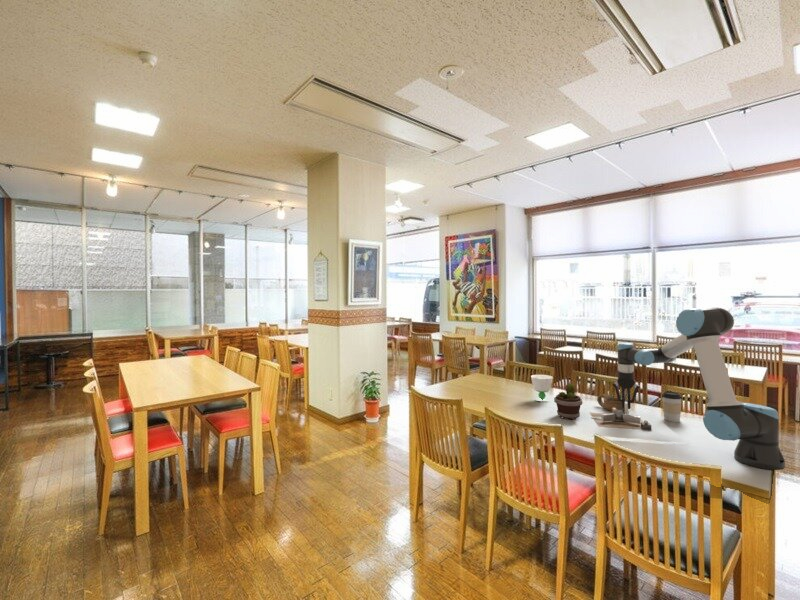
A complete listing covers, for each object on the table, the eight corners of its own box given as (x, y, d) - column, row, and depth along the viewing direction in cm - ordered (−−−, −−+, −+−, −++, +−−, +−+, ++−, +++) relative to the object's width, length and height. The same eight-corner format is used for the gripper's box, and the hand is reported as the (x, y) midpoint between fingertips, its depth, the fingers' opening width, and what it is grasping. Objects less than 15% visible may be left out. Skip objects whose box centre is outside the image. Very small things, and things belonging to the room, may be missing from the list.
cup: (526, 398, 254) (526, 375, 254) (543, 396, 258) (543, 373, 258) (540, 404, 241) (539, 379, 241) (557, 402, 245) (557, 377, 245)
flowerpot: (575, 423, 205) (575, 386, 205) (549, 416, 217) (548, 381, 216) (587, 417, 214) (587, 382, 214) (561, 411, 226) (561, 377, 226)
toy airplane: (652, 433, 188) (651, 421, 188) (596, 429, 195) (596, 418, 195) (637, 418, 211) (636, 407, 211) (587, 415, 218) (587, 405, 218)
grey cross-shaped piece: (641, 425, 194) (641, 414, 194) (601, 422, 200) (601, 412, 200) (632, 416, 210) (632, 406, 210) (595, 413, 215) (595, 404, 215)
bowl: (590, 408, 225) (592, 391, 227) (600, 410, 234) (601, 394, 236) (623, 414, 212) (624, 396, 214) (632, 416, 220) (633, 399, 222)
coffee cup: (685, 422, 201) (685, 394, 201) (666, 422, 203) (666, 394, 203) (677, 417, 210) (676, 390, 210) (658, 416, 212) (658, 390, 212)
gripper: (640, 371, 206) (641, 414, 206) (613, 369, 214) (614, 410, 214) (639, 374, 200) (639, 418, 200) (611, 371, 208) (612, 414, 208)
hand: (626, 414), depth 207 cm, fingers closed
